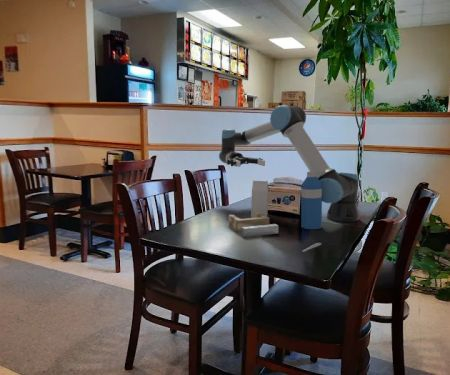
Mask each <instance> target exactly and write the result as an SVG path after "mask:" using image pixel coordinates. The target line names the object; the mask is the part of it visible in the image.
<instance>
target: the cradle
mask: <svg viewBox="0 0 450 375" xmlns="http://www.w3.org/2000/svg"><path fill="white" fill-rule="evenodd" d="M260 225H270V217H269V216H267V217H266V216H264V215H263V214H261V213H259V212H258V213H255V218H251V217H249V218H247V217H246V218H239V217H238V216H236V215H234V214H229V215H228V226H229V227H230V228H231V229H233V230H234V231H236V232H237V233H242V227H250V226H260Z"/></svg>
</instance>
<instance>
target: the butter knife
mask: <svg viewBox="0 0 450 375" xmlns="http://www.w3.org/2000/svg"><path fill="white" fill-rule="evenodd" d="M321 245H322V242H315V243H314V244H312V245H310V246H308V247H307V248H305V249H303V250H302V252H303V253H304V252H307V251H309V250H311V249H313V248H317V247H319V246H321Z"/></svg>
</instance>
